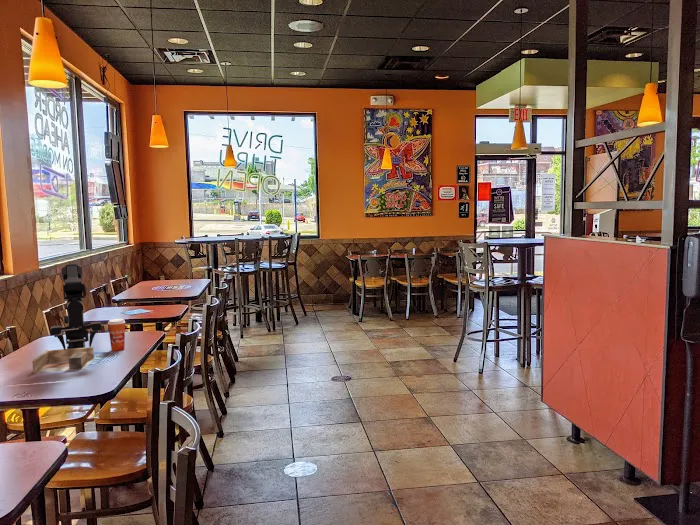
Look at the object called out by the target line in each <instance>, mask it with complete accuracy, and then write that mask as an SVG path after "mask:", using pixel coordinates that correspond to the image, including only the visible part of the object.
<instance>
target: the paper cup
mask: <svg viewBox="0 0 700 525" xmlns="http://www.w3.org/2000/svg"><path fill="white" fill-rule="evenodd" d="M107 325H108V334H109V342H110V347H111V348H110V350H111V351H112V352H121V351H124V350H125V349H126V348H125V345H126V344H125V341H126V340H125V338H126V336H125V335H126V334H125V332H126V331H125V330H126V329H125V328H126V326H125V325H126V321H125V319H124V318H112V319H109V320H108V322H107Z"/></svg>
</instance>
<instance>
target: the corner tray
mask: <svg viewBox="0 0 700 525" xmlns="http://www.w3.org/2000/svg"><path fill="white" fill-rule="evenodd" d="M94 348H95V347H94V346H91V347H85V348H74V349H67V348H66V350H64V348H62V349H48V350H45V351H43V352H42V353H40V355H38V356H37V357H36V358H34V359H33V360H32V362H31V363H32V373H33V374H36V373H37V374H39V373H40V374H41V373H52V372H62V371H63V372H64V371H77V370H79V369H69V358H70V357H71V356H72V355H73V354H74V353H75V352H87V359H88V362H87V363H86V364H85V365H84V366H83V367H82V369H81V370H85V369H86V368H87V367H88V366H89V365H90V364H91V362H92V361H93V360H94V359H95V353H94V352H95V350H94Z"/></svg>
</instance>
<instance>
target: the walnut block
mask: <svg viewBox="0 0 700 525" xmlns="http://www.w3.org/2000/svg"><path fill="white" fill-rule="evenodd" d="M87 362H88V359H87V352H75V353H74V354H73V355H72V356H71V357H70V358H69V369H78V370H83V369H82V367H83V366H84V365H85V364H86V363H87Z"/></svg>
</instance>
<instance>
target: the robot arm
mask: <svg viewBox="0 0 700 525" xmlns="http://www.w3.org/2000/svg"><path fill="white" fill-rule="evenodd" d="M60 271H61V279H62V280H63V283H64V284H62V289H63V290H62V291H63V300H64V301H65V300H66V310H67V315H64V316H63V323H64V325H66V326H62V325H52V326H51V327H50V328H49V332H50V336H54V338H57V339H58V340H59V342H60V343H61V346H62V349H64V350H66V349H74V348H86V342H89V343H88V346H89V347H92V344H93V340H94V338H95V335H96V333H99V331H101V330H103V328H102V327H103V326H102V322H101V321H90V323H89V324H85V322H84V321H85V320H84V303H83V299H85V298H86V296H87V288H86V285H85V283H84V282H82V278H83V267H81V266H79V264H78V263H68V264H67V263H66V264H64V267H63V266H62V268H61V269H60ZM88 330H89V331H88ZM63 332H65V338H64V333H63ZM66 345H67V347H66Z"/></svg>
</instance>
